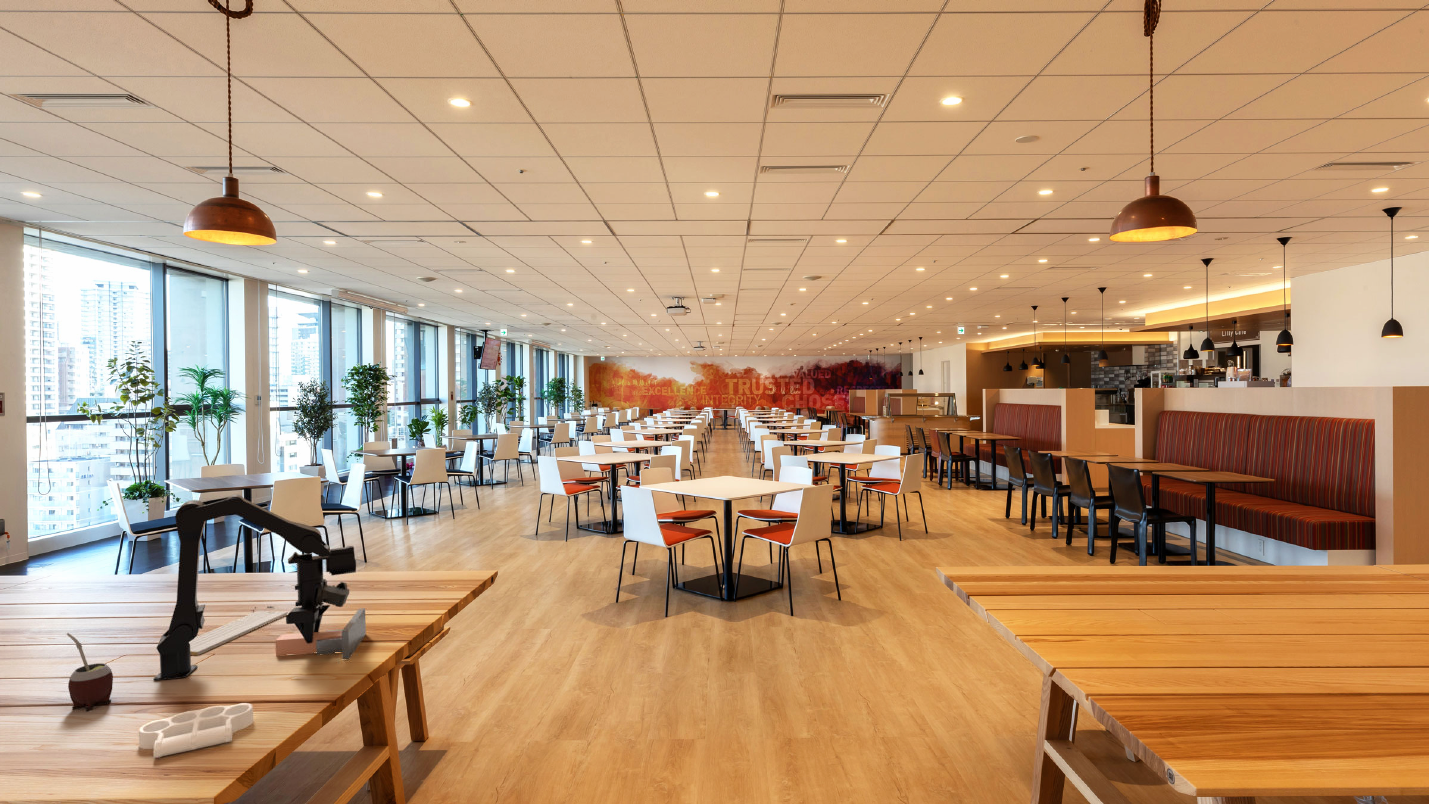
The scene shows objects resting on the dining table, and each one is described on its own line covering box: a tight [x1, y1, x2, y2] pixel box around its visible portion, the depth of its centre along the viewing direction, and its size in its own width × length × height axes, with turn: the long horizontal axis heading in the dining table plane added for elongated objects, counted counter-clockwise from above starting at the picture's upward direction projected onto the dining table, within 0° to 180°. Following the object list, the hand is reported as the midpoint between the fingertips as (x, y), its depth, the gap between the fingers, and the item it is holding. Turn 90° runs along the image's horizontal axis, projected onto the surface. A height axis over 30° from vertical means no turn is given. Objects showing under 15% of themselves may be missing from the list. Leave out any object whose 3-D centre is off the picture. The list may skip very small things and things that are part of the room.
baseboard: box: [189, 605, 289, 656], centre depth 197 cm, size 31×3×12 cm
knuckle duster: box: [138, 702, 254, 759], centre depth 140 cm, size 3×18×15 cm
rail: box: [274, 630, 342, 656], centre depth 183 cm, size 16×4×4 cm, turn 100°
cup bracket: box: [316, 607, 367, 660], centre depth 185 cm, size 18×8×7 cm, turn 14°
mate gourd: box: [66, 632, 114, 712], centre depth 153 cm, size 8×8×15 cm
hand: (312, 640), depth 183 cm, fingers closed on rail, 4 cm apart
